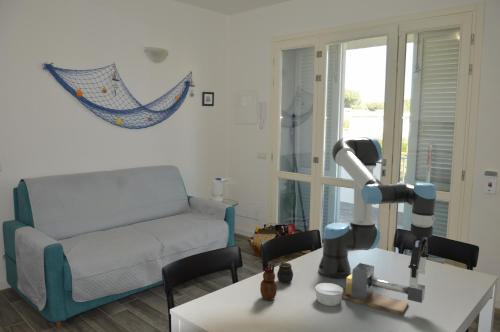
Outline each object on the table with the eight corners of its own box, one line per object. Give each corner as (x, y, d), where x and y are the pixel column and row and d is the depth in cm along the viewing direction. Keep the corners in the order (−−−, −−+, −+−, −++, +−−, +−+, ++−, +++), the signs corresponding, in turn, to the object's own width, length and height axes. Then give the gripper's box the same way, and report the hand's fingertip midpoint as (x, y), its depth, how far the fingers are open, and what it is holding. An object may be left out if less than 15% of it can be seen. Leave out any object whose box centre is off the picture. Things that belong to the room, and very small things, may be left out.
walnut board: (336, 296, 162) (336, 294, 162) (345, 288, 170) (345, 285, 170) (402, 315, 147) (402, 312, 147) (408, 305, 156) (408, 302, 155)
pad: (339, 294, 162) (339, 293, 161) (346, 286, 169) (346, 286, 169) (351, 297, 159) (351, 296, 159) (358, 289, 166) (358, 289, 166)
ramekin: (326, 309, 151) (326, 296, 150) (308, 298, 161) (309, 285, 160) (348, 304, 156) (349, 291, 155) (330, 293, 166) (331, 281, 165)
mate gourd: (285, 286, 171) (285, 264, 170) (273, 281, 177) (273, 259, 176) (296, 282, 176) (296, 260, 175) (284, 277, 182) (284, 256, 181)
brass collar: (345, 294, 161) (346, 277, 160) (351, 288, 167) (352, 272, 166) (351, 295, 160) (352, 279, 159) (357, 289, 165) (358, 273, 165)
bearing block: (351, 297, 159) (352, 269, 157) (358, 289, 166) (359, 263, 165) (365, 301, 155) (367, 272, 154) (372, 293, 163) (374, 266, 161)
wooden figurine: (278, 296, 161) (279, 261, 159) (274, 302, 156) (275, 266, 154) (262, 294, 163) (263, 259, 161) (258, 299, 158) (259, 263, 156)
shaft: (355, 286, 159) (356, 274, 159) (359, 282, 163) (360, 270, 163) (421, 303, 145) (422, 290, 145) (424, 298, 150) (425, 285, 149)
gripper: (426, 234, 133) (421, 293, 136) (438, 219, 154) (433, 270, 156) (403, 230, 137) (398, 288, 140) (418, 216, 158) (413, 266, 161)
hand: (417, 279), depth 148 cm, fingers open, 13 cm apart
